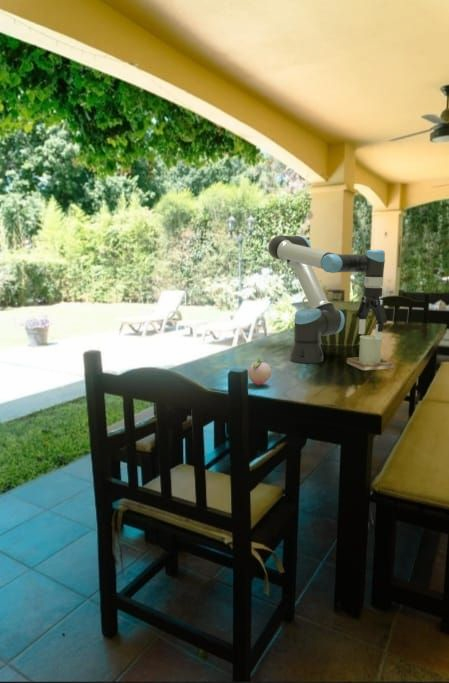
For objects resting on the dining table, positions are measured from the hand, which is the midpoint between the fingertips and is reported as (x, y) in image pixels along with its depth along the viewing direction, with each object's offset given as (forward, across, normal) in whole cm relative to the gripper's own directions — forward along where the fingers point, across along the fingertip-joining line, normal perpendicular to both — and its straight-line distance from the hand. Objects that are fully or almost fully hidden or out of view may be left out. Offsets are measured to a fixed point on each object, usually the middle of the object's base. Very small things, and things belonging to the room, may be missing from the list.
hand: (369, 336), depth 196 cm
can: (+12, +1, 0) cm, 12 cm away
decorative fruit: (+13, +21, -56) cm, 61 cm away
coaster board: (+13, +1, 0) cm, 13 cm away
